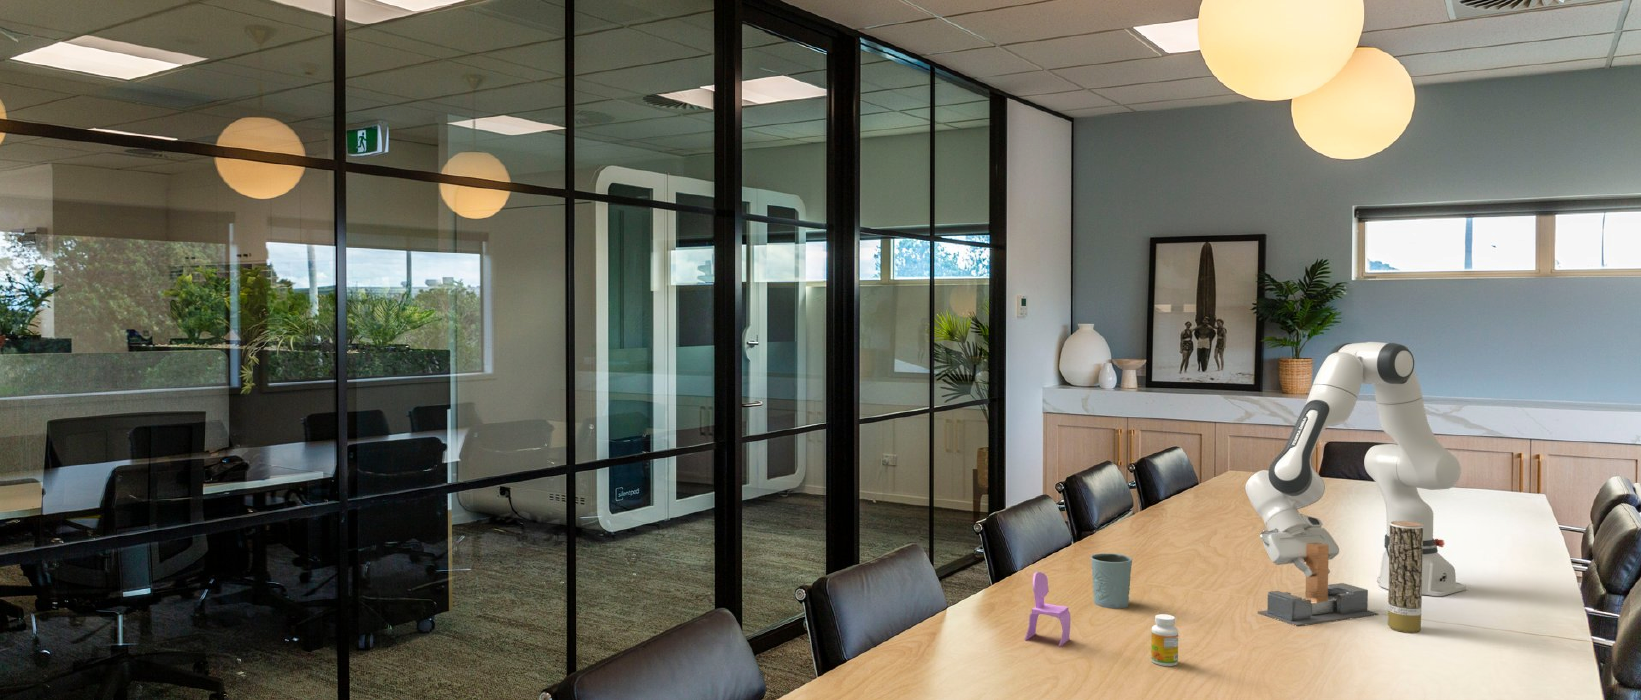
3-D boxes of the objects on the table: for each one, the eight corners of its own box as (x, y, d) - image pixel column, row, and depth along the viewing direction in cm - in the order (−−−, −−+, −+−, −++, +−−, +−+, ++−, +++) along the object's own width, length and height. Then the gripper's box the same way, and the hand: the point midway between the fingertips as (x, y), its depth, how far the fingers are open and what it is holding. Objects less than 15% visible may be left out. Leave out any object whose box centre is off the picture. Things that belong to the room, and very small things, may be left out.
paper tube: (1425, 634, 238) (1427, 527, 238) (1393, 632, 240) (1395, 525, 239) (1414, 626, 245) (1416, 521, 244) (1383, 624, 246) (1385, 520, 246)
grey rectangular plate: (1337, 602, 265) (1337, 601, 265) (1378, 614, 254) (1378, 613, 254) (1257, 613, 255) (1257, 611, 255) (1296, 626, 244) (1296, 624, 244)
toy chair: (1060, 648, 226) (1061, 580, 226) (1022, 641, 231) (1023, 575, 230) (1072, 638, 233) (1073, 573, 233) (1035, 632, 238) (1036, 568, 237)
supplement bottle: (1146, 658, 219) (1147, 613, 219) (1171, 658, 220) (1171, 612, 219) (1157, 666, 214) (1157, 620, 214) (1182, 666, 214) (1182, 620, 214)
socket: (1286, 611, 256) (1286, 589, 256) (1310, 619, 249) (1311, 596, 249) (1267, 613, 253) (1267, 591, 253) (1291, 621, 246) (1291, 599, 246)
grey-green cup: (1134, 601, 265) (1134, 555, 265) (1128, 611, 256) (1128, 563, 256) (1094, 597, 269) (1094, 551, 269) (1087, 606, 260) (1087, 559, 260)
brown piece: (1344, 605, 260) (1345, 539, 260) (1356, 608, 257) (1357, 542, 257) (1299, 610, 255) (1301, 543, 254) (1311, 614, 251) (1313, 546, 251)
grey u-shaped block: (1342, 603, 263) (1342, 582, 263) (1367, 611, 256) (1367, 589, 256) (1316, 607, 259) (1316, 586, 259) (1341, 614, 253) (1341, 593, 252)
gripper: (1264, 523, 256) (1294, 571, 248) (1324, 518, 264) (1356, 564, 255) (1250, 538, 261) (1279, 585, 252) (1310, 532, 268) (1341, 578, 260)
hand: (1319, 574), depth 254 cm, fingers closed on brown piece, 3 cm apart
